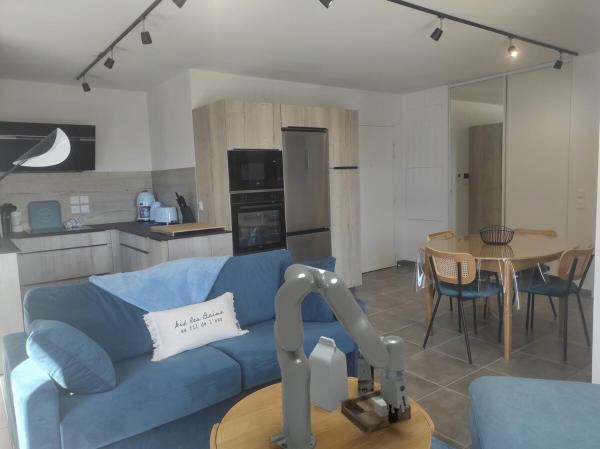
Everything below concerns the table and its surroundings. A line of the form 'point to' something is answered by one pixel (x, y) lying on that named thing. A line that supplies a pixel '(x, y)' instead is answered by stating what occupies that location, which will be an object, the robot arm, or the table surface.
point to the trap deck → (369, 412)
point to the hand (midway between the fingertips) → (393, 421)
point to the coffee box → (365, 376)
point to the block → (380, 407)
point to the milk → (328, 375)
